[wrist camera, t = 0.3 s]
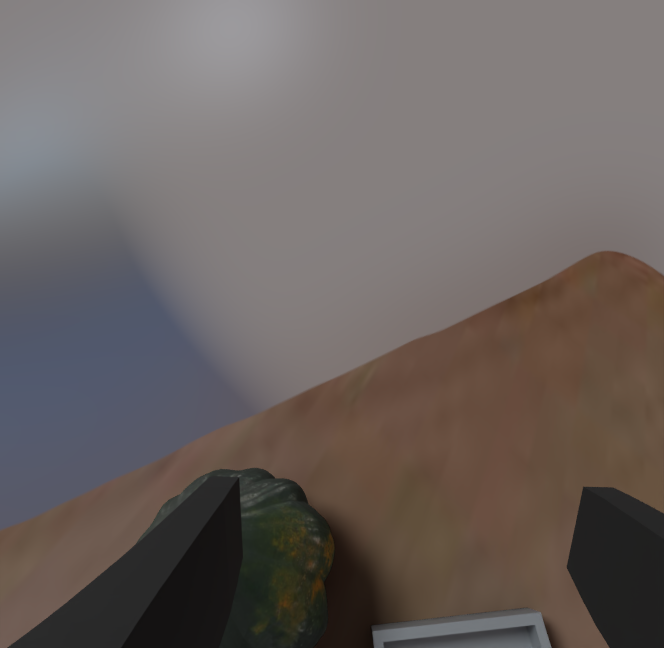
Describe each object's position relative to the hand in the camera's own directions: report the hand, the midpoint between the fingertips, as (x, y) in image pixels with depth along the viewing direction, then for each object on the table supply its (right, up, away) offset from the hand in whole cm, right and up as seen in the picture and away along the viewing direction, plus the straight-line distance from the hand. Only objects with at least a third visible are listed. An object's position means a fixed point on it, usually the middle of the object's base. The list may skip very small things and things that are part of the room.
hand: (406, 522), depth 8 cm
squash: (-9, -18, +25) cm, 32 cm away
